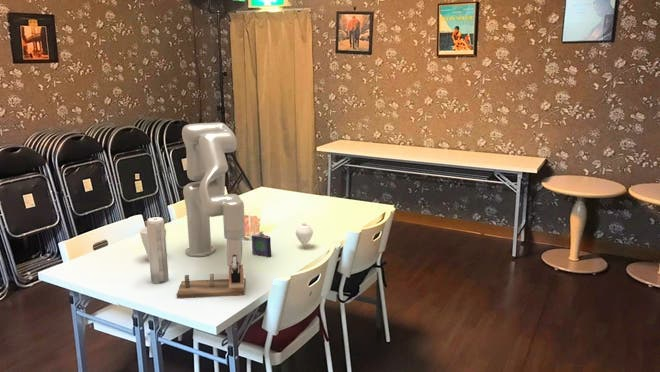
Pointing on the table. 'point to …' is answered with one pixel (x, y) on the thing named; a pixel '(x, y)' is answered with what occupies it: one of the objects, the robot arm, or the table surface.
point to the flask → (261, 245)
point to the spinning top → (304, 233)
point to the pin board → (208, 288)
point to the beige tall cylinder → (157, 250)
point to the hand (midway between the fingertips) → (236, 278)
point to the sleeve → (241, 284)
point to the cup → (146, 239)
